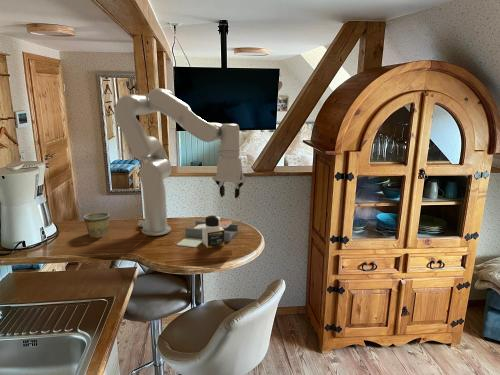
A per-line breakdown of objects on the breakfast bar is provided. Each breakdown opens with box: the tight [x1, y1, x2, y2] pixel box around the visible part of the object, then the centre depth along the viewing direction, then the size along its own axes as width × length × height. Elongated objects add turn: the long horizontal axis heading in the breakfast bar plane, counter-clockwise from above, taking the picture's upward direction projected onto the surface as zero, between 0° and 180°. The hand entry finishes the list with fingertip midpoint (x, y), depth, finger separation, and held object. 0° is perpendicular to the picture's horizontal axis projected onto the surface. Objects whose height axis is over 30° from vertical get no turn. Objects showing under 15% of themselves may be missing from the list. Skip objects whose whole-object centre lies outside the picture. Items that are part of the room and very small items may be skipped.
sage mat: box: [176, 237, 203, 248], centre depth 152 cm, size 8×8×1 cm
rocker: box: [194, 220, 233, 229], centre depth 161 cm, size 16×7×1 cm, turn 74°
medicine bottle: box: [202, 214, 225, 249], centre depth 150 cm, size 7×7×12 cm
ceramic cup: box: [83, 211, 110, 239], centre depth 158 cm, size 13×10×10 cm
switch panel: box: [184, 220, 239, 243], centre depth 161 cm, size 20×12×5 cm, turn 74°
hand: (229, 196), depth 156 cm, fingers open, 5 cm apart
